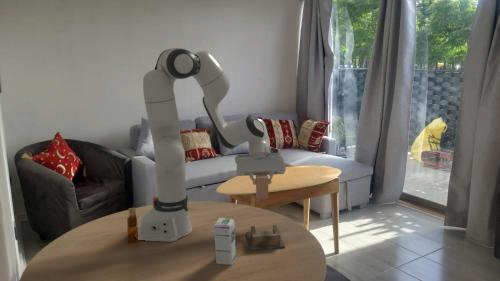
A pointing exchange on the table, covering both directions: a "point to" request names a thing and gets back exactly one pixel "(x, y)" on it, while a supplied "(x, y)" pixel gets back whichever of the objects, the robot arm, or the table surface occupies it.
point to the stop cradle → (264, 239)
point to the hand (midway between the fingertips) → (262, 183)
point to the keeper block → (262, 186)
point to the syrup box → (225, 241)
